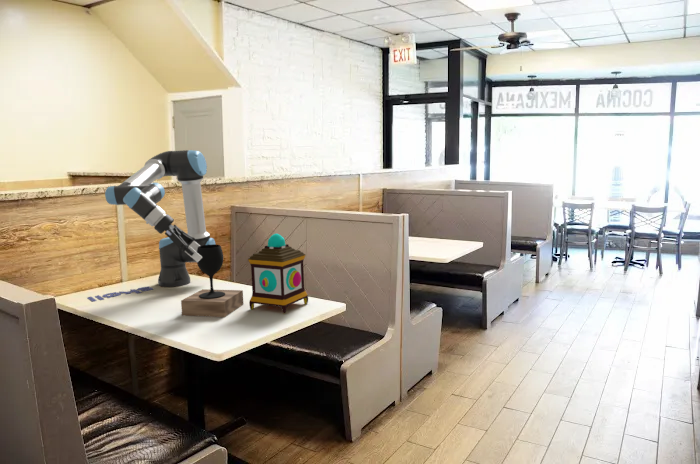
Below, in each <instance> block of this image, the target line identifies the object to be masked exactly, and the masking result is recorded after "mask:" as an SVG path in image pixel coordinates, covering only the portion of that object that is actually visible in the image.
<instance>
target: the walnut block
mask: <svg viewBox="0 0 700 464" xmlns="http://www.w3.org/2000/svg"><path fill="white" fill-rule="evenodd" d="M213 290H214V291H219V292H224V293H225V296H223V297H220V298H214V299H203V298H200V297H199V295H200V294H202V293H206V292H210V289H203V288H202V289H200V290H199V291H197V292H194V293H193V294H191V295H189V296H187V297H185V298H183V299H181V300H180V304H181V306H180V307H181V316H183V317H184V316H191V317H210V318H211V317H214V318H216V317H217V318H219V317H220V318H226V317H227V316H229V315H231V314H232V313H233V312H234V311H236V310H238V309H239V308H241V307H242V306H244V291H243V290H242V289H241V290H240V289H213Z"/></svg>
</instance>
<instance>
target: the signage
mask: <svg viewBox="0 0 700 464" xmlns="http://www.w3.org/2000/svg"><path fill="white" fill-rule="evenodd" d="M153 290H154V288H153V287H151V286H143V287H138V288H137V289H136V288H135V289H132V288H131V289H130V291H129V290H127V291H124V290H122V291H118V292H116V291H115V292H110V293H106V294H103V295H102V296H101V295H99V294H98V295H95V296H94V297H95V298H96V299H95V298H94V297H92V296H89V297H86V298H87V300H89V301H90V302H93V303H94V302H97V299H98V300H99V301H104V300H105V298H107V299H110V298H115V297H119V296H121V295H122V294H125V295H130V294H132V293H135V294H141V293H142V292H149V291H153Z"/></svg>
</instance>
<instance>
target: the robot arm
mask: <svg viewBox="0 0 700 464" xmlns="http://www.w3.org/2000/svg"><path fill="white" fill-rule="evenodd" d="M207 165H208V164H207V161H206V158H205V156H204V155H203V153H202V152H201V151H199V150H194V149H193V150H192V149H185V150H167V151H163V152H160V153H158V154H156V155H154V156H152V157H151V158H149V159H148V160H147V161H146V162H145V163H144V166H143V167H141V168H140V169H139V170H138V171H135V173H133V174H132V175H131V176H129V177H128V178H126V180H124V181H123V182H121V183H120V184H119V185H112V186H111V185H110V186H108V187H106V188H105V192H104V197H105V201H106V203H107V204H108V205H113V206H123V205H124V206H125V205H126V206H127V207H128V208H129V209H131V210H132V211H133V212H134V213H135V214H137V216H139V217H140V218H142V219H143V220H144V221H145V224H146V225H148V224H149V226H151V227H153V228H154V230H155V231H156V232H158V233H159V234H163V233H164V232H165V233H164V234H165V235H166V236H167V237H164V238H161V239H160V240H159V241H158V251H159V260H160V261H159V262H160V263H159V264H160V272H159V276H158V278H157V285H158V286H159V287H164V288H165V287H168V288H170V287H179V286H180V287H181V286H185V285H189V284H190V283H191V275H190V274H189V272H188V269H187V265H186V263H196V264H197V263H198V262H199V261H200V260H201V258H202V256H201V255H200V254H198V253H197V249H198V247H199V246H202V245H217V244H216V241H215V238H213V237H211V233H210V232H208V231H207V228H206V218H205V210H204V201H203V194H202V193H203V192H202V183H201V182H202V181H203V179H204V176H205V175H206V174H207V172H208V171H207V169H208V168H207V167H208V166H207ZM163 177H177V181H178V182H179V183H180V184H181V190H182V197H183V198H182V199H183V206H184V214H185V220H186V221H185V222H186V223H185V224H186V228H187V232H185V231H184V230H183V229H181V228H180V227H178V226H177V224H173V223H174V221H175V219H174V218H173V217H172V216H171V215H169V214H166V211H165V210H164V209H163V208H162V207H160V206H159V205H158V204H157V203H159V202H160V201H162V199H163V198H164V197H165V194H166V192H165V191H166V190H165V188H164V186H163V185H162V184H160V183H159V182H155V181H156V180H160V179H162V178H163Z"/></svg>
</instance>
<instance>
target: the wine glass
mask: <svg viewBox="0 0 700 464" xmlns="http://www.w3.org/2000/svg"><path fill="white" fill-rule="evenodd" d="M197 253H198V254H200V255H201V256H202V258H201V260H200V261H199V262H198V263H197V262H196V265H197V267H198V268H199V270H201V272H202V273H203V274H205V275H207V276H208V277H209V283H210V285H209V286H210V292H206V293H202V294H200V295H199V297H200V298H203V299H214V298H220V297H223V296H225V293H224V292H219V291H214V290H215V289H214V275H216V274H217V273H218V272H219V271H220V269H221V268H222V267H223V264H224V253H223V249H222V246H221V245H220V244H216V245H202V246H199V247H198V249H197Z"/></svg>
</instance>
